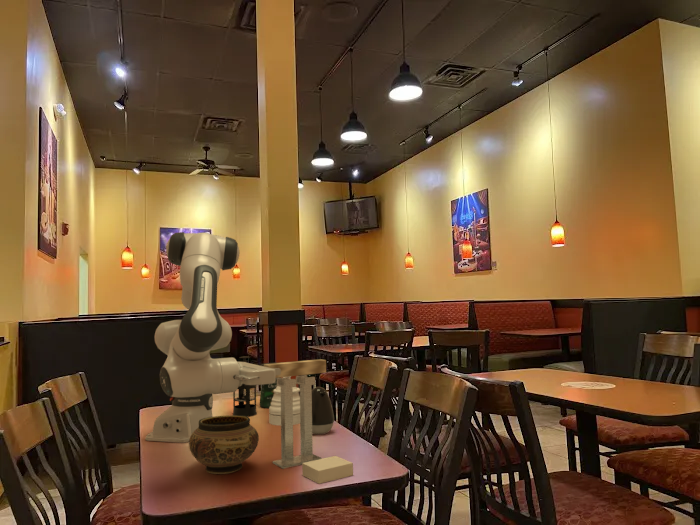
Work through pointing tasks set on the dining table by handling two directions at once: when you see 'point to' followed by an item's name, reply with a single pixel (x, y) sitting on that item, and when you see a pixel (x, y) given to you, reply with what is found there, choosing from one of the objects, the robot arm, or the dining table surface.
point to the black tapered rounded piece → (321, 411)
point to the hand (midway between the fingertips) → (275, 370)
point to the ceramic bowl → (223, 443)
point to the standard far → (306, 419)
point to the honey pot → (276, 406)
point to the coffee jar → (267, 392)
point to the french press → (245, 399)
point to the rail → (299, 367)
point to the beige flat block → (327, 469)
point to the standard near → (286, 424)
